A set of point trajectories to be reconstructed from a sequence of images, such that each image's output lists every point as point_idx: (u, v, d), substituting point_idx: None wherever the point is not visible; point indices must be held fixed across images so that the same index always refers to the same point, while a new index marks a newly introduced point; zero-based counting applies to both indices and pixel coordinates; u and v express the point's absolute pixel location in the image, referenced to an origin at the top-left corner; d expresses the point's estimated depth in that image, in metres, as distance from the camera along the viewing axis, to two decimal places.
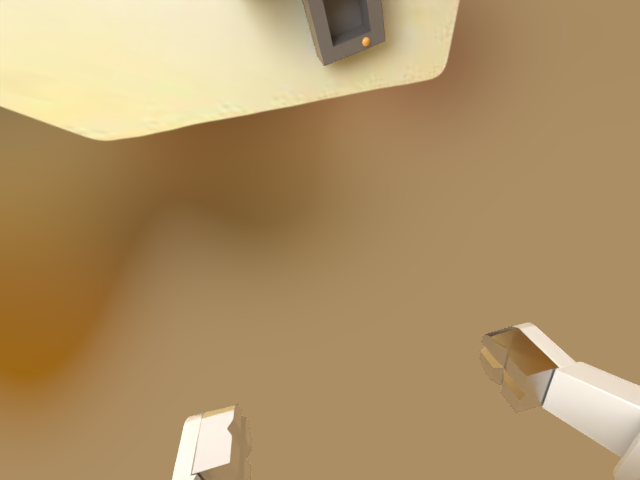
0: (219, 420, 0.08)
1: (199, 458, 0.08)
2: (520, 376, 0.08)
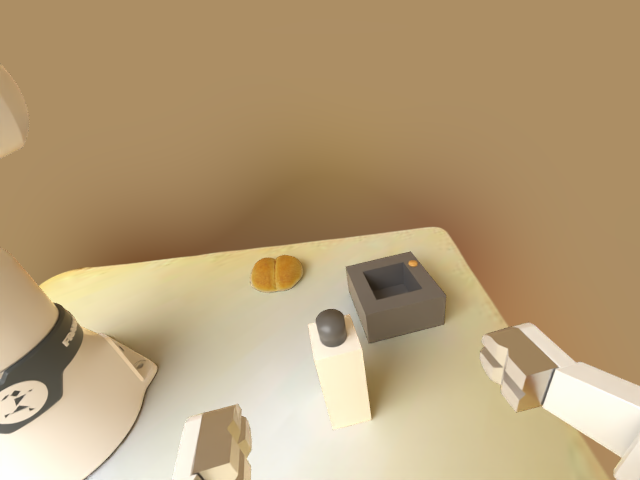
0: (219, 420, 0.08)
1: (199, 458, 0.08)
2: (520, 376, 0.08)
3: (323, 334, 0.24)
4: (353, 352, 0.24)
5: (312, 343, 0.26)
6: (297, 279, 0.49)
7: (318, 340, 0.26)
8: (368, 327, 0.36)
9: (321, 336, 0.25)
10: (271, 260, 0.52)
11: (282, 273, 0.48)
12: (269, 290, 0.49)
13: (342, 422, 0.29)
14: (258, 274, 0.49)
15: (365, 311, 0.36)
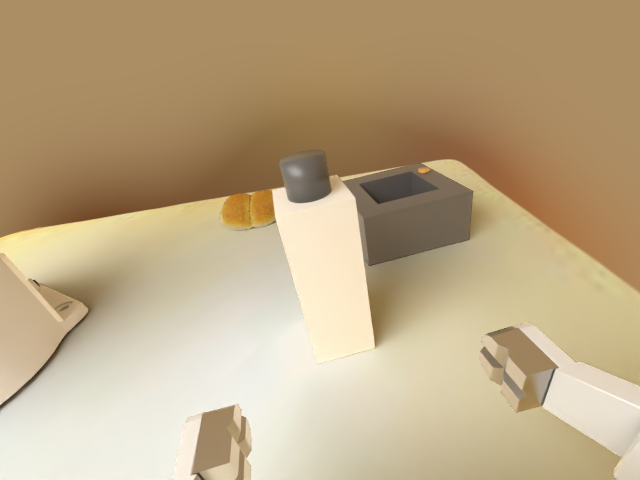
0: (219, 420, 0.08)
1: (199, 458, 0.08)
2: (520, 376, 0.08)
3: (290, 176, 0.15)
4: (340, 204, 0.15)
5: (275, 203, 0.16)
6: None
7: (285, 200, 0.16)
8: (367, 239, 0.26)
9: (288, 183, 0.15)
10: (246, 194, 0.42)
11: (258, 204, 0.39)
12: (243, 225, 0.39)
13: (331, 349, 0.19)
14: (229, 207, 0.39)
15: (362, 215, 0.26)
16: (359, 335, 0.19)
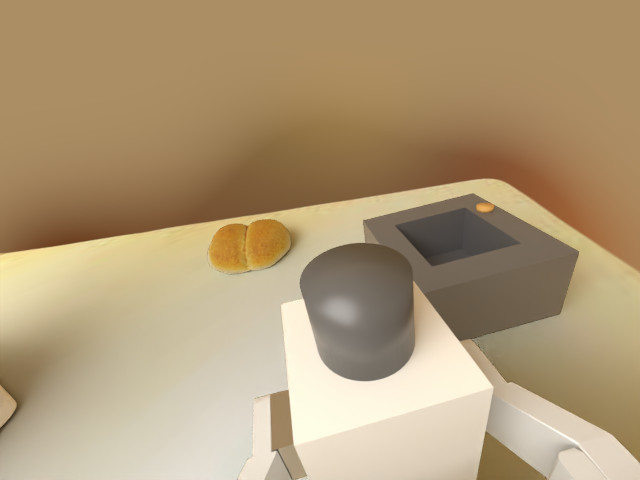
0: (289, 400, 0.09)
1: (276, 436, 0.08)
2: None
3: (331, 330, 0.06)
4: (456, 402, 0.06)
5: (291, 365, 0.07)
6: (281, 251, 0.31)
7: (312, 355, 0.07)
8: None
9: (323, 339, 0.06)
10: (241, 225, 0.33)
11: (256, 242, 0.30)
12: (236, 269, 0.30)
13: None
14: (219, 245, 0.31)
15: None
16: None
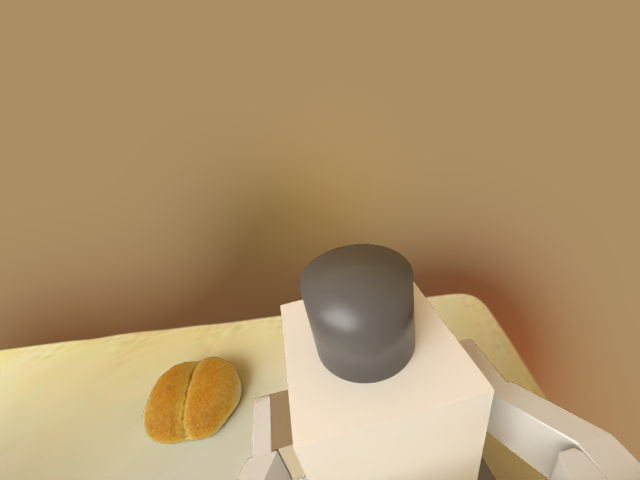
0: None
1: (276, 436, 0.08)
2: None
3: (331, 332, 0.06)
4: (457, 404, 0.06)
5: (290, 367, 0.07)
6: (226, 416, 0.27)
7: (312, 356, 0.07)
8: None
9: (322, 341, 0.06)
10: (185, 374, 0.30)
11: (195, 411, 0.26)
12: (172, 442, 0.26)
13: None
14: (154, 412, 0.27)
15: None
16: None
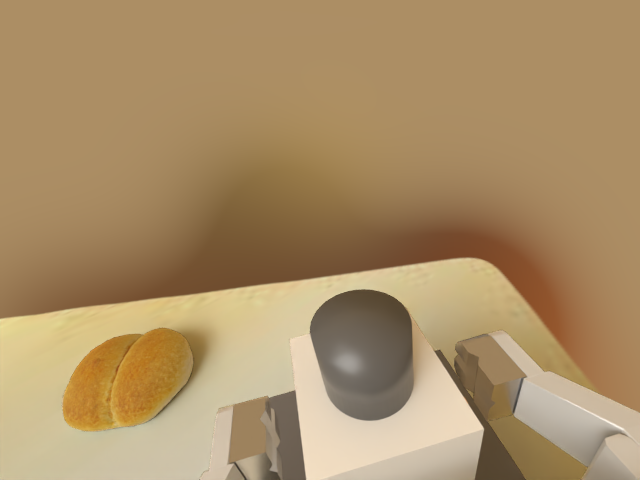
0: (251, 411, 0.08)
1: (235, 448, 0.08)
2: (489, 385, 0.08)
3: (339, 378, 0.07)
4: (451, 442, 0.07)
5: (301, 403, 0.08)
6: (166, 397, 0.21)
7: (320, 392, 0.08)
8: None
9: (331, 383, 0.07)
10: (121, 346, 0.24)
11: (124, 389, 0.21)
12: (95, 429, 0.21)
13: None
14: (73, 391, 0.21)
15: None
16: None
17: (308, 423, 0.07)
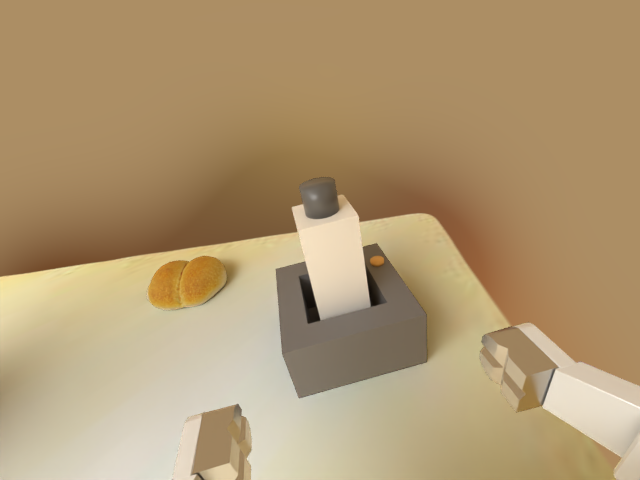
0: (219, 420, 0.08)
1: (199, 458, 0.08)
2: (520, 376, 0.08)
3: (308, 199, 0.19)
4: (347, 220, 0.19)
5: (296, 219, 0.20)
6: (213, 289, 0.34)
7: (303, 216, 0.20)
8: (292, 373, 0.21)
9: (306, 204, 0.20)
10: (181, 263, 0.36)
11: (188, 282, 0.33)
12: (170, 307, 0.33)
13: None
14: (155, 284, 0.34)
15: (283, 346, 0.20)
16: None
17: (298, 222, 0.20)
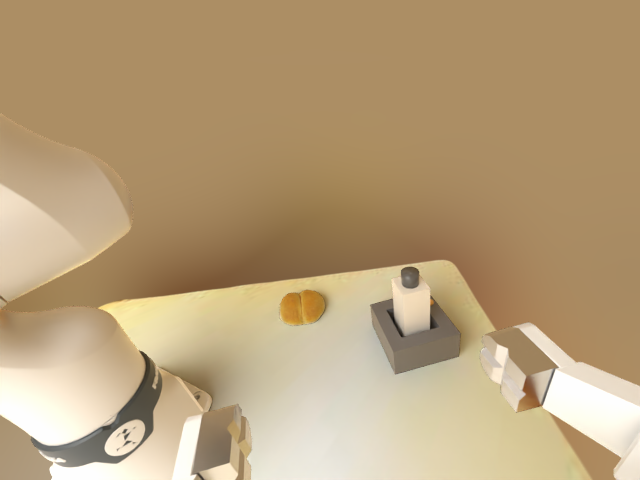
0: (219, 420, 0.08)
1: (199, 458, 0.08)
2: (520, 376, 0.08)
3: (407, 280, 0.41)
4: (425, 290, 0.41)
5: (398, 287, 0.42)
6: (321, 313, 0.56)
7: (401, 285, 0.42)
8: (395, 361, 0.43)
9: (405, 282, 0.41)
10: (296, 296, 0.58)
11: (308, 309, 0.55)
12: (297, 324, 0.55)
13: None
14: (287, 310, 0.56)
15: (392, 348, 0.42)
16: None
17: (400, 289, 0.42)
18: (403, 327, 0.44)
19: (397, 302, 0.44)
